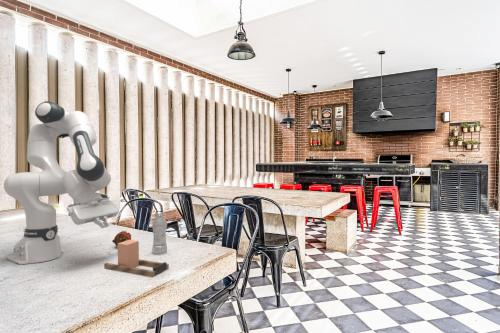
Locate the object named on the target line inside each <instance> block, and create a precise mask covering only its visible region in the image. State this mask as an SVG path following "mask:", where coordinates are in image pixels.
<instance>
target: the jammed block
mask: <svg viewBox="0 0 500 333" xmlns="http://www.w3.org/2000/svg"><path fill="white" fill-rule="evenodd" d="M139 243H140V242H139V240H133V239H131V240H127V241H124V242H121V243H118V246H117V265H122V266H128V267H134V268H138V266H140V265H139V259H140V256H139V255H140V246H139V245H140V244H139Z"/></svg>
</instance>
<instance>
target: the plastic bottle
mask: <svg viewBox="0 0 500 333" xmlns="http://www.w3.org/2000/svg"><path fill="white" fill-rule="evenodd" d="M164 213H165V212H164V211H162V210H159V211H154V217H155V218H154V219H153V220H152V231H153V235H152V236H153V240H152V241H153V242H152V248H151V249H152V254H154V255H164V254H166V253H167V252H168V244H167V228H168V221H167V219H166V218H165V217H164V216H165V214H164Z"/></svg>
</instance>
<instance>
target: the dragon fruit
mask: <svg viewBox="0 0 500 333" xmlns="http://www.w3.org/2000/svg"><path fill="white" fill-rule="evenodd" d="M127 240H132V234H131V233H130V232H128V231H126V230H122V231H120V232H118V233H117V234H116V235H115V237H114V238H113V239H112V241H111V242H112V244H113V243H114V245H115V246H116V247H118V243H121V242H124V241H127Z"/></svg>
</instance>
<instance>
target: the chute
mask: <svg viewBox="0 0 500 333" xmlns="http://www.w3.org/2000/svg"><path fill="white" fill-rule="evenodd" d="M103 266H104V267H103V268H104V269H106V270H111V271H116V272H122V273H127V274H134V275H139V276H144V277H148V278H153V277H156V276H158V275H159V274H162V273H163V272H165V271H167V270H168V269H169V268H170V267H169V266H170V265H169V263H167V262H166V261H165V262H158V261H153V260H145V259H140V258H139V266H141V267H142V266H143V267H148V268H152V269H151V270H150V269H145V268H139V267H128V266H122V265H118V264H115V263H109V262H105V263H104V264H103Z"/></svg>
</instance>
